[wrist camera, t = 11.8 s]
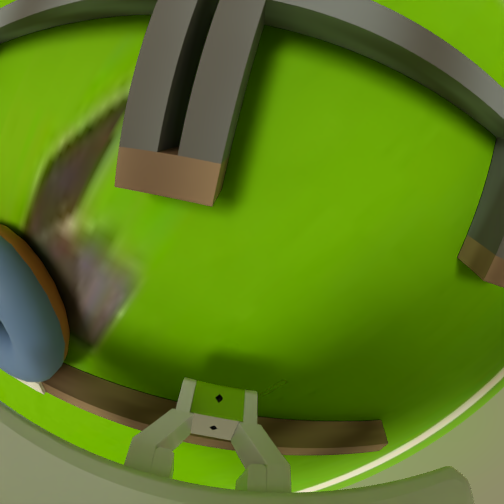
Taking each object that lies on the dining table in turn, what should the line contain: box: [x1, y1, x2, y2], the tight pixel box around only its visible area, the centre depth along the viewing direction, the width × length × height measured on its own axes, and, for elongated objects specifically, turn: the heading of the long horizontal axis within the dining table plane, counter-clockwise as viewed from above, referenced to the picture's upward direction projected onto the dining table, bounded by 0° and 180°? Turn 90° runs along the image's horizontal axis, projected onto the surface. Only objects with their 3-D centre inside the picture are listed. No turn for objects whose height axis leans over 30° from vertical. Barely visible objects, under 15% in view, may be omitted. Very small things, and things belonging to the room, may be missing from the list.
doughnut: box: [0, 224, 70, 382], centre depth 10 cm, size 10×10×5 cm
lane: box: [0, 0, 504, 455], centre depth 10 cm, size 32×22×3 cm
